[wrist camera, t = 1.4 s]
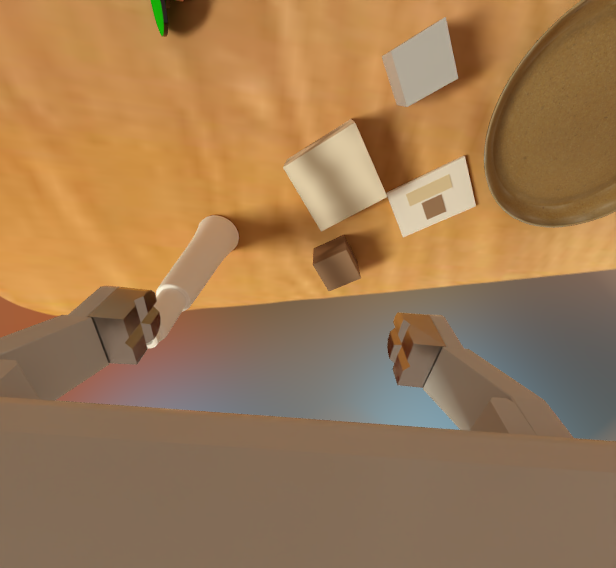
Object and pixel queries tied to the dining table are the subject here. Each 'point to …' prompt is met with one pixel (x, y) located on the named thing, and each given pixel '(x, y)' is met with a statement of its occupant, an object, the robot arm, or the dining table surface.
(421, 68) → the grey plastic cube
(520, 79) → the plant saucer
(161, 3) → the stick construction toy
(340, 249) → the walnut cube
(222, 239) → the cosmetic bottle
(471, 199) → the card
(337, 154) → the birch base block
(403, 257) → the dining table surface
